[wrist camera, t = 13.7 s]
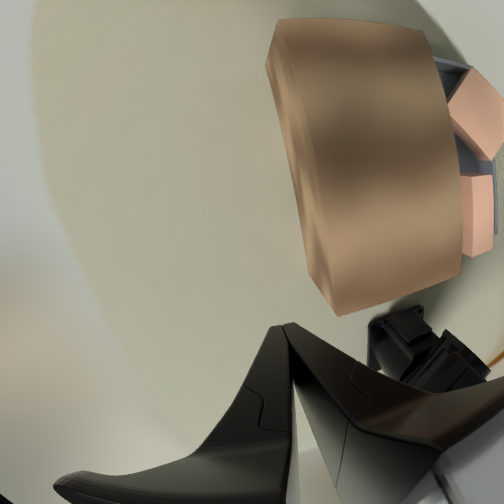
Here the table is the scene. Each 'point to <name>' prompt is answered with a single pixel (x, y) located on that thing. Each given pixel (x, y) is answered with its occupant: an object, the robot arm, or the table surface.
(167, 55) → the table surface
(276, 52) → the brown wooden block
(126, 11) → the table surface
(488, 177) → the tile
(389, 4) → the table surface
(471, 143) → the tile
